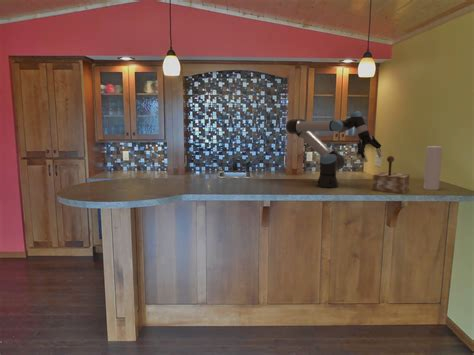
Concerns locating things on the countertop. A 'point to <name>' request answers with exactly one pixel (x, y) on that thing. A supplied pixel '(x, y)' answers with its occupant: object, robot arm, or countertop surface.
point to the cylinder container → (432, 167)
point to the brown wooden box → (390, 184)
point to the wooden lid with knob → (395, 175)
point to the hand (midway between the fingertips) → (373, 159)
